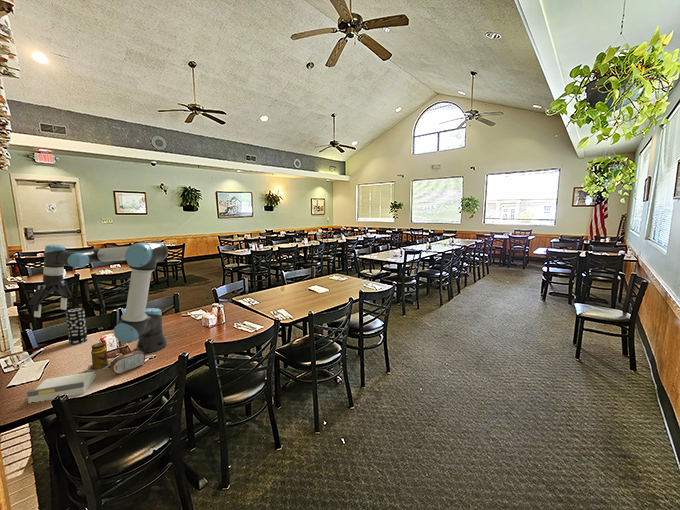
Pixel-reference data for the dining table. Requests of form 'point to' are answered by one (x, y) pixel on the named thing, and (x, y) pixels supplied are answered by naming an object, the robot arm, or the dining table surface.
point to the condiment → (98, 357)
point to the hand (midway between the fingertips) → (50, 313)
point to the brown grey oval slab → (127, 362)
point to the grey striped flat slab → (61, 387)
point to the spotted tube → (76, 326)
